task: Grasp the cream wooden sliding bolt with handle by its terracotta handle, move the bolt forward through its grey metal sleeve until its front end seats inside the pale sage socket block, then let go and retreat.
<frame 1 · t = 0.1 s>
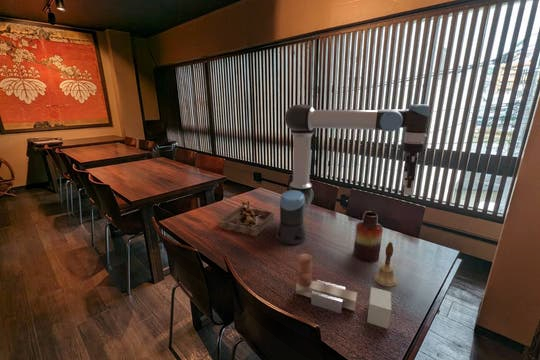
hand: (406, 189, 113), 28 cm above the table, fingers open, 13 cm apart
sleeve: (328, 301, 87), on the table
figurine stand: (248, 223, 144), on the table
sliding bolt with handle: (326, 280, 85), point 8 cm above the table, slide at 0.0 cm
hand bell: (385, 279, 98), on the table
bear figurine: (248, 223, 144), resting in figurine stand
socket: (377, 316, 81), on the table
vase: (365, 255, 113), on the table
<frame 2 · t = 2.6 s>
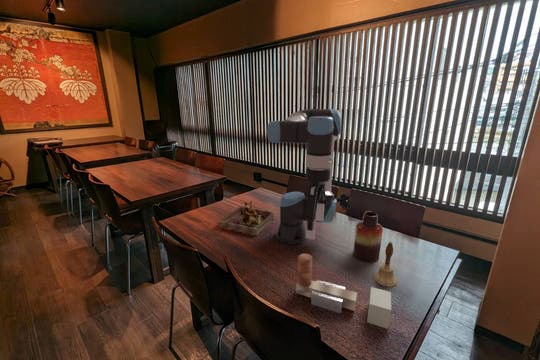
hand: (315, 228, 85), 25 cm above the table, fingers open, 13 cm apart
bear figurine: (250, 223, 144), resting in figurine stand
everything else where it was.
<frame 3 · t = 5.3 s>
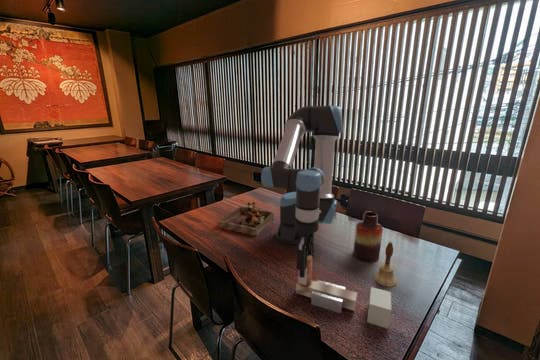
hand: (304, 278, 89), 7 cm above the table, fingers closed on sliding bolt with handle, 5 cm apart
sliding bolt with handle: (326, 280, 85), point 8 cm above the table, slide at 0.0 cm, touching gripper
bear figurine: (253, 224, 144), resting in figurine stand
everything else where it was.
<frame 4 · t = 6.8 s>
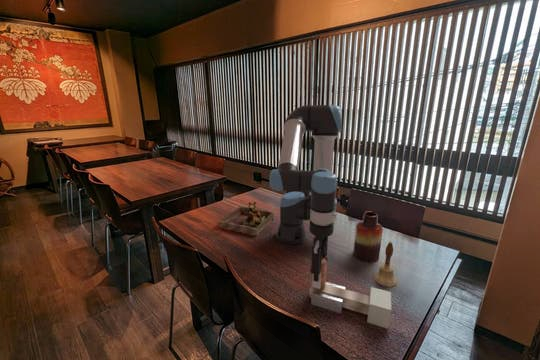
hand: (318, 281, 87), 7 cm above the table, fingers closed on sliding bolt with handle, 5 cm apart
sliding bolt with handle: (341, 284, 83), point 8 cm above the table, slide at 4.8 cm, touching gripper
bear figurine: (254, 224, 144), resting in figurine stand
everything else where it was.
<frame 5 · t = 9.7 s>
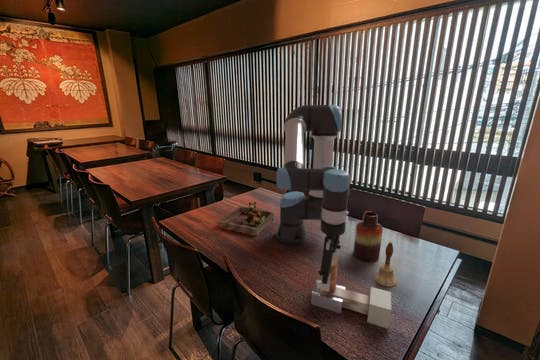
hand: (329, 276, 85), 10 cm above the table, fingers open, 13 cm apart
sliding bolt with handle: (352, 287, 82), point 8 cm above the table, slide at 8.4 cm
bear figurine: (254, 224, 144), resting in figurine stand
everything else where it was.
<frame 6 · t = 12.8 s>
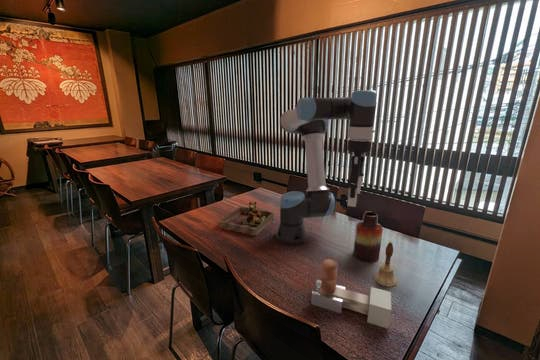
hand: (353, 199, 90), 33 cm above the table, fingers open, 13 cm apart
nothing on the table moved.
at the end: sliding bolt with handle slide at 8.4 cm; the gripper is holding nothing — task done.
